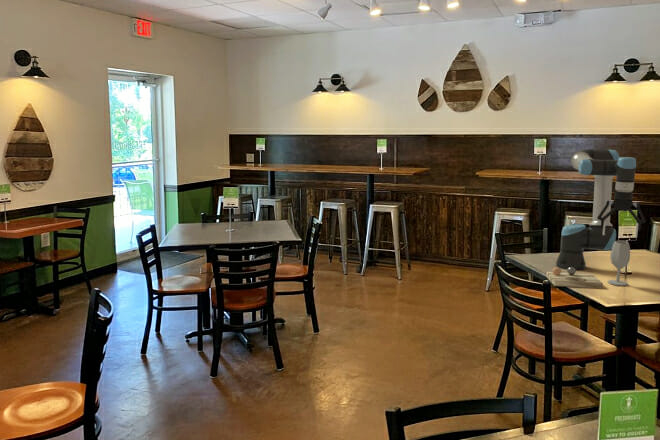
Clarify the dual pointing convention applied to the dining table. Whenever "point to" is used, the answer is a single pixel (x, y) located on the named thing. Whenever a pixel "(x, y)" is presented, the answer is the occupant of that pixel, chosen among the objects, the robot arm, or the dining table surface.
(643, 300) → the dining table surface
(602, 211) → the robot arm
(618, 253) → the wineglass
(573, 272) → the steel ball
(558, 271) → the terracotta ball
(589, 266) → the dining table surface
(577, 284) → the board
